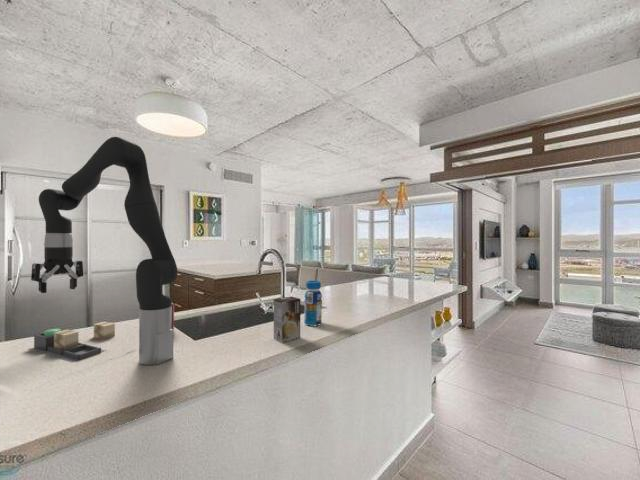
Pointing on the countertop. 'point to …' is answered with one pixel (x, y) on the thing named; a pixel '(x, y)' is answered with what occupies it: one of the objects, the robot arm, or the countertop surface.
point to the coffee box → (286, 319)
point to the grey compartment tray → (71, 354)
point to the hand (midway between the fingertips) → (58, 290)
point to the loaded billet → (65, 339)
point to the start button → (51, 332)
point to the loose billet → (104, 330)
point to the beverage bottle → (313, 303)
